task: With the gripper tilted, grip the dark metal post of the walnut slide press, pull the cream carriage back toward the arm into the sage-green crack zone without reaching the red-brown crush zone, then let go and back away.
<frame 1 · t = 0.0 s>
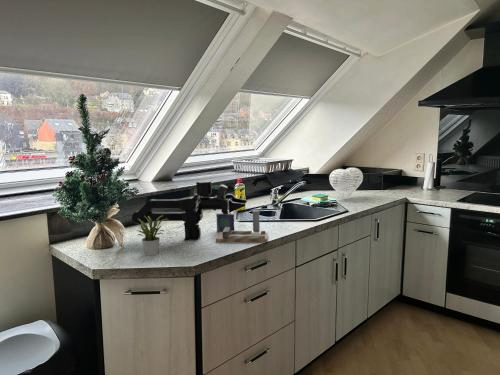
hand: (245, 203, 176), 17 cm above the worktop, tool horizontal, fingers open, 9 cm apart
handle: (256, 223, 176), point 7 cm above the worktop, slide at 0.0 cm
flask: (225, 231, 192), on the worktop
bench: (242, 238, 178), on the worktop
house plant: (154, 253, 159), on the worktop
heart: (345, 199, 274), on the worktop
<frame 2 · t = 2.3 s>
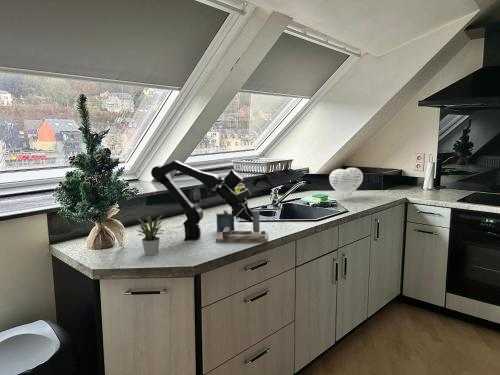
hand: (252, 219, 176), 9 cm above the worktop, tool tilted 45°, fingers open, 9 cm apart
nothing on the worktop moved.
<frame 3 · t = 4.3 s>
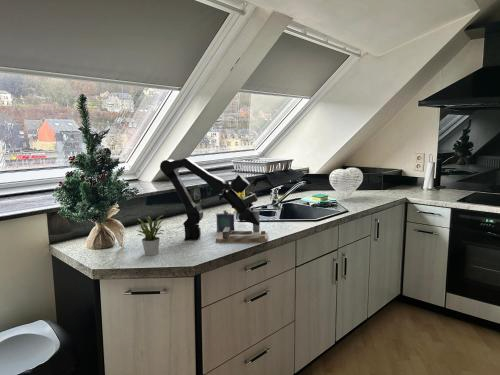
hand: (259, 223, 176), 7 cm above the worktop, tool tilted 45°, fingers closed on handle, 3 cm apart
handle: (256, 223, 176), point 7 cm above the worktop, slide at 0.0 cm, touching gripper
everything else where it was.
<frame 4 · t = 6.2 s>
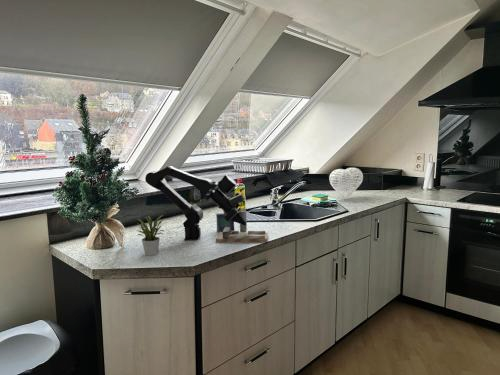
hand: (246, 223, 176), 7 cm above the worktop, tool tilted 45°, fingers closed on handle, 3 cm apart
handle: (243, 223, 176), point 7 cm above the worktop, slide at 6.0 cm, touching gripper
everything else where it was.
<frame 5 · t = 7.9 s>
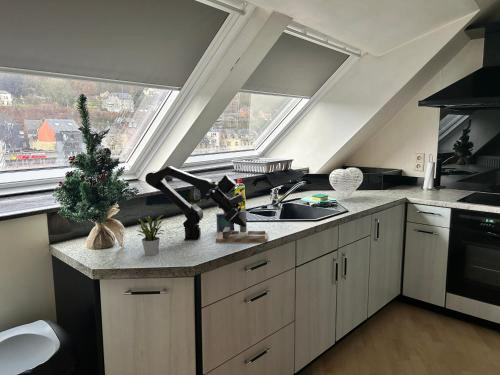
hand: (246, 223, 176), 7 cm above the worktop, tool tilted 45°, fingers open, 9 cm apart
handle: (243, 223, 176), point 7 cm above the worktop, slide at 6.0 cm
everything else where it was.
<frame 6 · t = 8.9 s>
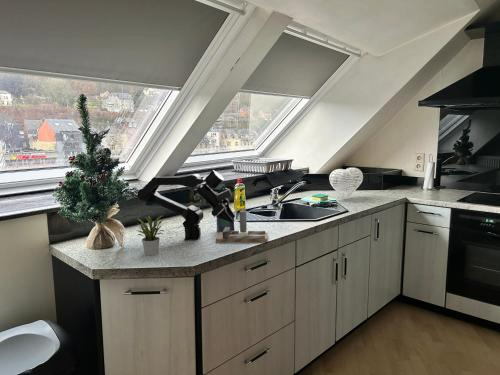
hand: (233, 219, 177), 9 cm above the worktop, tool tilted 45°, fingers open, 9 cm apart
nothing on the worktop moved.
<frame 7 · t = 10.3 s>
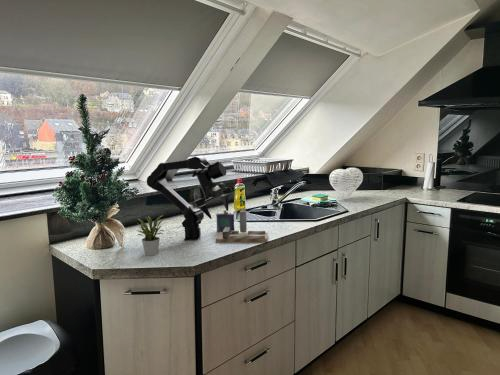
hand: (219, 214, 175), 12 cm above the worktop, tool tilted 20°, fingers open, 9 cm apart
nothing on the worktop moved.
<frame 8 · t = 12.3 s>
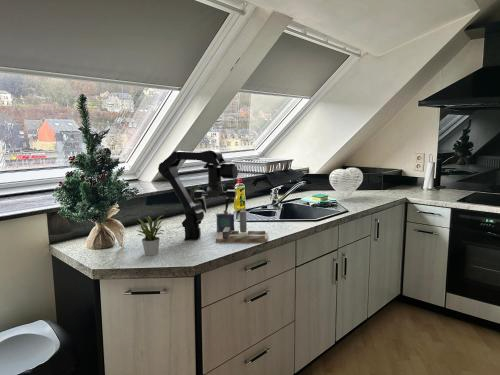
hand: (215, 212, 173), 13 cm above the worktop, tool pointing down, fingers open, 9 cm apart
nothing on the worktop moved.
at the end: handle slide at 6.0 cm; the gripper is holding nothing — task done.
